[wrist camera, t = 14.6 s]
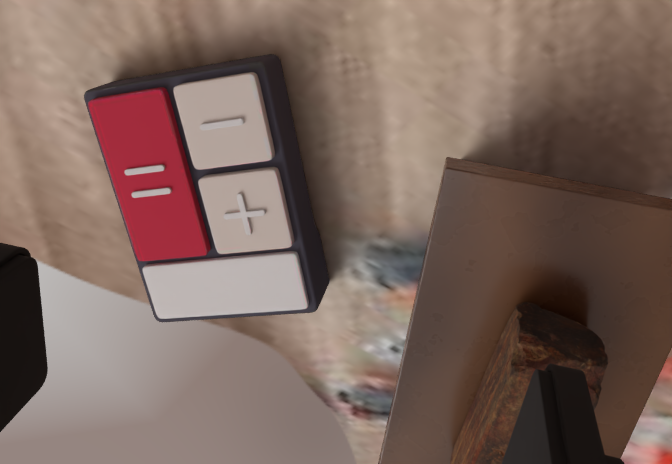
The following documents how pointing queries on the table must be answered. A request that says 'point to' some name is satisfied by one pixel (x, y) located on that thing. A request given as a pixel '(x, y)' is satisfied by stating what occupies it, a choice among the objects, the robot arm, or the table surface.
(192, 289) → the button pad
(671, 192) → the table surface
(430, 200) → the table surface
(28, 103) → the table surface
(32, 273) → the robot arm
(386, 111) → the table surface
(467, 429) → the brick
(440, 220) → the board
